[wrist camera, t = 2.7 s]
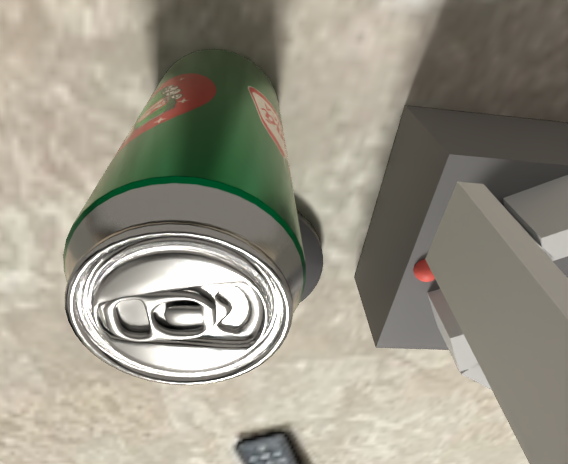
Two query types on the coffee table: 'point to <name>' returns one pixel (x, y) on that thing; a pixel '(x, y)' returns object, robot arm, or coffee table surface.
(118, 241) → the soda can
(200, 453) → the coffee table surface
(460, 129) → the camera body
